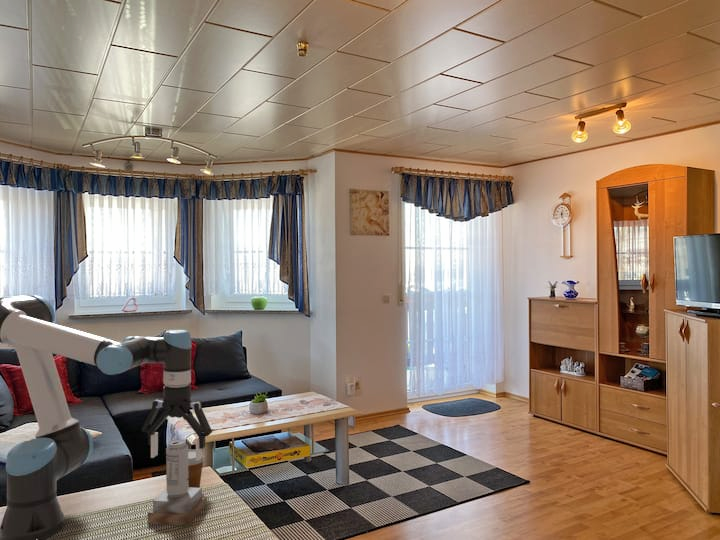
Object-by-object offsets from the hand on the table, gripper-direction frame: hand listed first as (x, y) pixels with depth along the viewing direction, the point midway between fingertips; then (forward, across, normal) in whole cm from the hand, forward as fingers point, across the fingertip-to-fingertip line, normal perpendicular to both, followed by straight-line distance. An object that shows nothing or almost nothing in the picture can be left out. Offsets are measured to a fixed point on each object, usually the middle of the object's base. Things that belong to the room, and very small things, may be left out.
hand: (176, 457), depth 160 cm
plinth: (+16, +1, 0) cm, 17 cm away
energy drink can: (+11, 0, 0) cm, 11 cm away
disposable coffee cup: (+17, -3, +15) cm, 23 cm away
